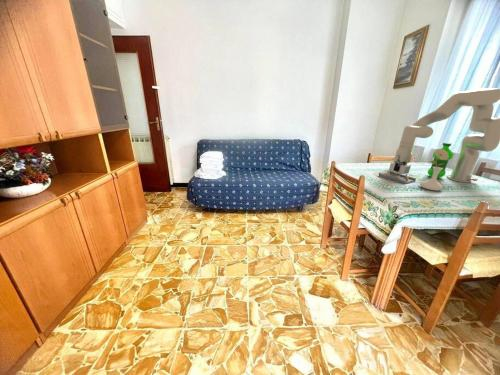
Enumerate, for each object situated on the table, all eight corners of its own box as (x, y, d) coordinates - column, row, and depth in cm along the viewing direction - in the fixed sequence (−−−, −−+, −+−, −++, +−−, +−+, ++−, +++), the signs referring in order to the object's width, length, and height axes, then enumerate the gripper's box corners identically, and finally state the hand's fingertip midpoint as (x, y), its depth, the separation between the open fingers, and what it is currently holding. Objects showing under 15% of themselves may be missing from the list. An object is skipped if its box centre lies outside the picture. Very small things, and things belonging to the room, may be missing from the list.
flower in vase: (446, 193, 124) (463, 152, 115) (425, 191, 126) (439, 151, 117) (433, 185, 136) (447, 147, 127) (413, 183, 138) (426, 146, 129)
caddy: (415, 181, 142) (417, 175, 141) (404, 184, 137) (405, 178, 136) (389, 173, 157) (390, 168, 156) (378, 176, 152) (379, 171, 151)
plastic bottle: (444, 180, 145) (458, 145, 135) (425, 177, 151) (437, 143, 141) (443, 176, 152) (456, 143, 143) (425, 174, 158) (436, 141, 148)
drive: (408, 173, 142) (411, 165, 140) (403, 174, 140) (405, 166, 138) (393, 169, 151) (395, 161, 148) (388, 170, 148) (390, 162, 146)
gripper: (407, 143, 145) (400, 167, 152) (392, 145, 138) (385, 170, 144) (419, 145, 139) (411, 170, 145) (404, 147, 131) (396, 173, 138)
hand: (398, 170), depth 145 cm, fingers closed on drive, 6 cm apart
